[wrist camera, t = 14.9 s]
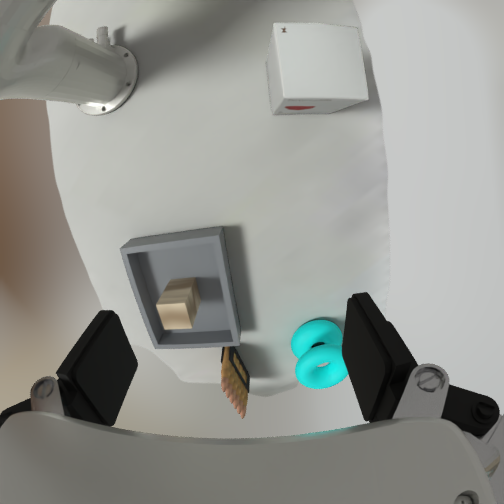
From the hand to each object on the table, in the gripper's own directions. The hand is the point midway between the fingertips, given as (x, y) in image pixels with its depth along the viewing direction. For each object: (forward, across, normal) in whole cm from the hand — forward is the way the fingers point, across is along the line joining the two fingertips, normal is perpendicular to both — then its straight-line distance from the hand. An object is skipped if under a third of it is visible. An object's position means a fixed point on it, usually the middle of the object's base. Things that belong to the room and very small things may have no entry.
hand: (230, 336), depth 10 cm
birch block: (+31, +12, +15) cm, 37 cm away
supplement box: (+33, -9, -15) cm, 37 cm away
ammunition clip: (+32, +5, +33) cm, 47 cm away
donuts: (+32, -11, +29) cm, 44 cm away
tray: (+32, +12, +15) cm, 38 cm away
